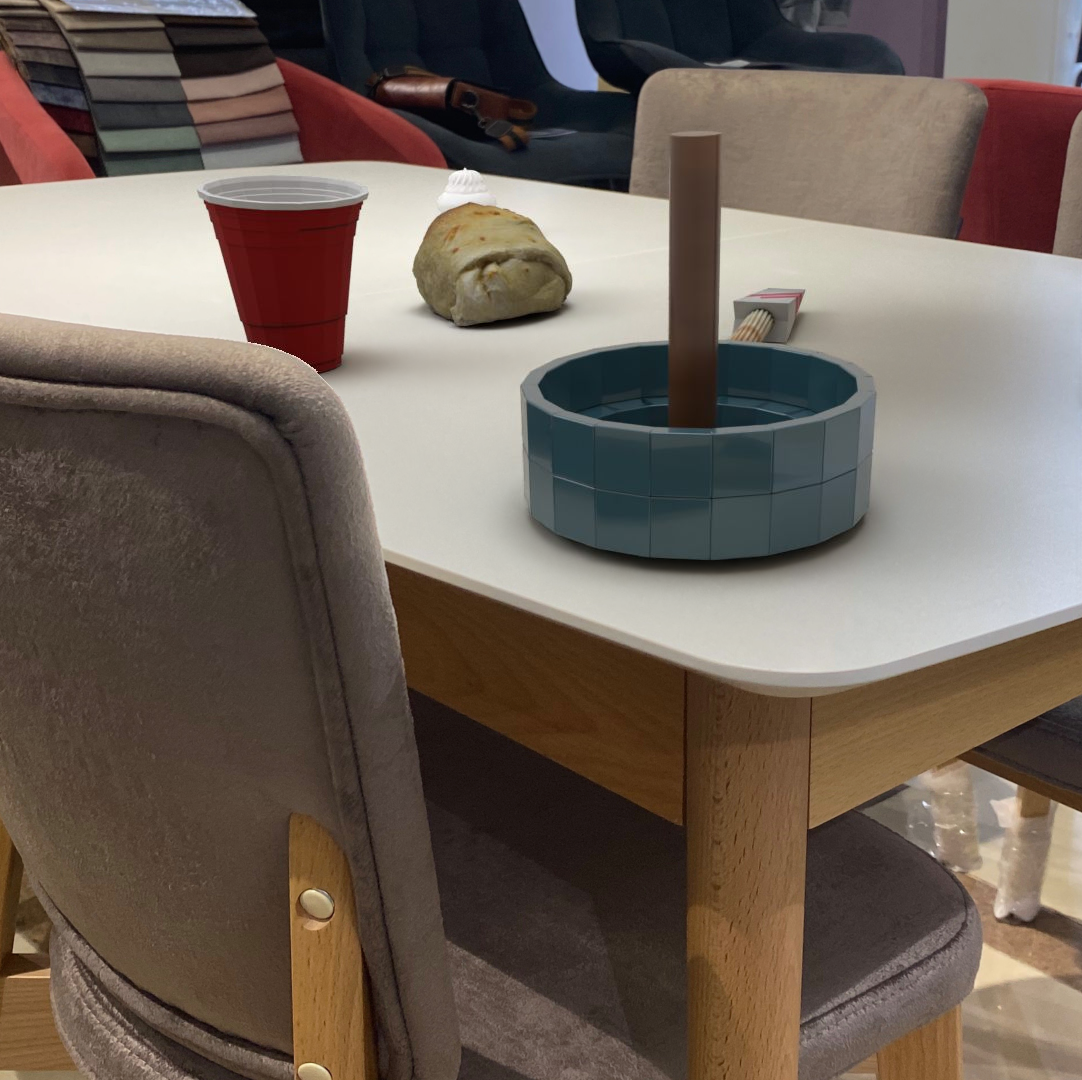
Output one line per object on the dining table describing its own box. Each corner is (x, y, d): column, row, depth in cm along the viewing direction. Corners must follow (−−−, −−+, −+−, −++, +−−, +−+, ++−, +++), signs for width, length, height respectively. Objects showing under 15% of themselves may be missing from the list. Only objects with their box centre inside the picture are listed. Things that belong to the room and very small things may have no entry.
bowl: (905, 476, 63) (914, 356, 61) (804, 599, 51) (811, 453, 48) (615, 438, 70) (613, 329, 68) (463, 537, 58) (455, 407, 55)
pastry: (459, 287, 110) (454, 190, 107) (598, 294, 106) (596, 193, 103) (378, 323, 98) (370, 215, 95) (530, 333, 94) (526, 220, 91)
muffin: (510, 237, 134) (507, 166, 131) (461, 244, 130) (457, 172, 128) (475, 230, 138) (471, 162, 136) (427, 238, 135) (422, 168, 132)
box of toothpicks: (814, 270, 96) (755, 346, 79) (812, 306, 97) (754, 389, 80) (762, 267, 97) (693, 342, 80) (761, 303, 98) (693, 384, 81)
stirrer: (752, 484, 61) (764, 129, 55) (718, 515, 57) (726, 139, 51) (666, 472, 63) (667, 128, 57) (628, 502, 59) (625, 138, 53)
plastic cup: (325, 394, 80) (305, 195, 76) (185, 379, 85) (159, 190, 80) (412, 352, 89) (400, 173, 85) (283, 341, 94) (264, 169, 89)
